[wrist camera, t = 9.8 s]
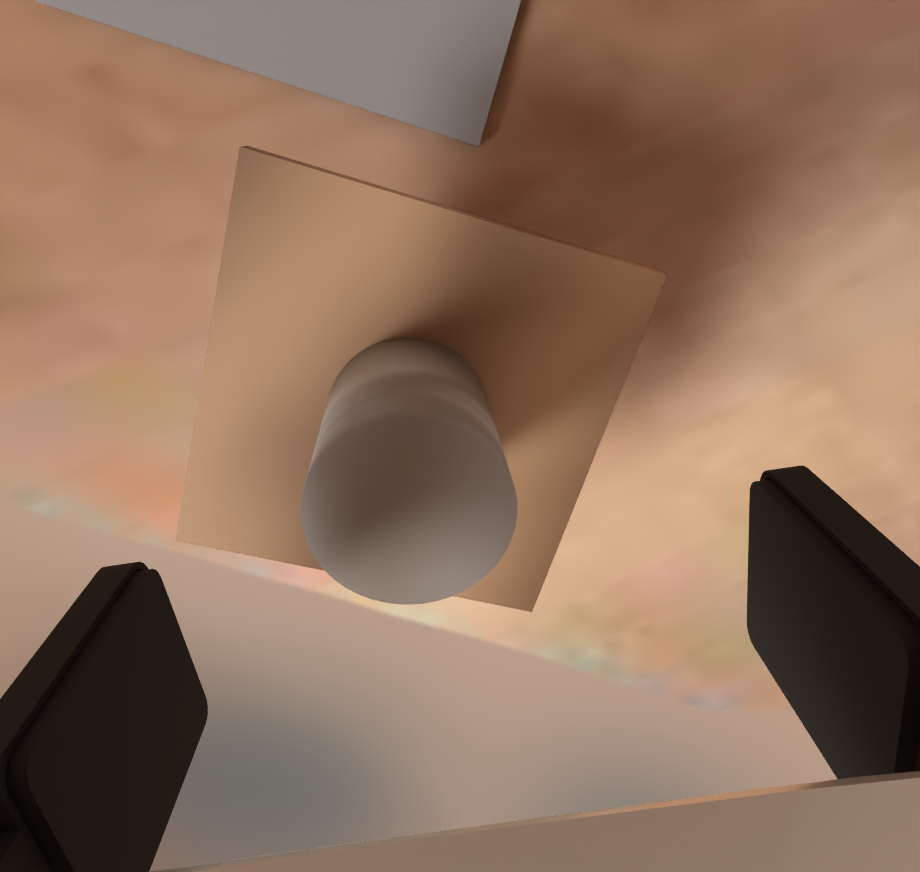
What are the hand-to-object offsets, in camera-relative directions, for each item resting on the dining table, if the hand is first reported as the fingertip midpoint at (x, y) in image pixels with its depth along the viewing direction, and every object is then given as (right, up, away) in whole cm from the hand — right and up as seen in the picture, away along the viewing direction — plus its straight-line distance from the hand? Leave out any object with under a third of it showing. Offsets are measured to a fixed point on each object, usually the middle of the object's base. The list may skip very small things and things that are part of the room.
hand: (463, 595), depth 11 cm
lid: (-1, +3, +7) cm, 8 cm away
